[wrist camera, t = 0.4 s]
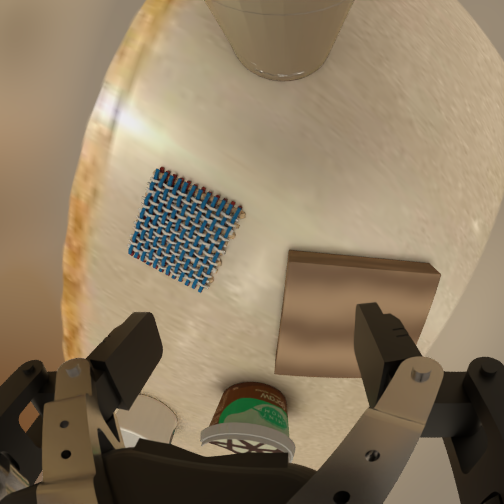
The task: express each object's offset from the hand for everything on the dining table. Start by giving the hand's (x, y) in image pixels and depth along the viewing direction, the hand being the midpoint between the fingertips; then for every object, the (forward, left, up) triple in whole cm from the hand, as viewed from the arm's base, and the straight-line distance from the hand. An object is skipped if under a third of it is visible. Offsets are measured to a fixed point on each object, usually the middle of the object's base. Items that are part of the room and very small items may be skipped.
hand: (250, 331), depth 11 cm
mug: (+36, -18, -18) cm, 44 cm away
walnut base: (+10, +10, -18) cm, 23 cm away
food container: (+24, +1, -18) cm, 30 cm away
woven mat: (+2, -9, -19) cm, 21 cm away
